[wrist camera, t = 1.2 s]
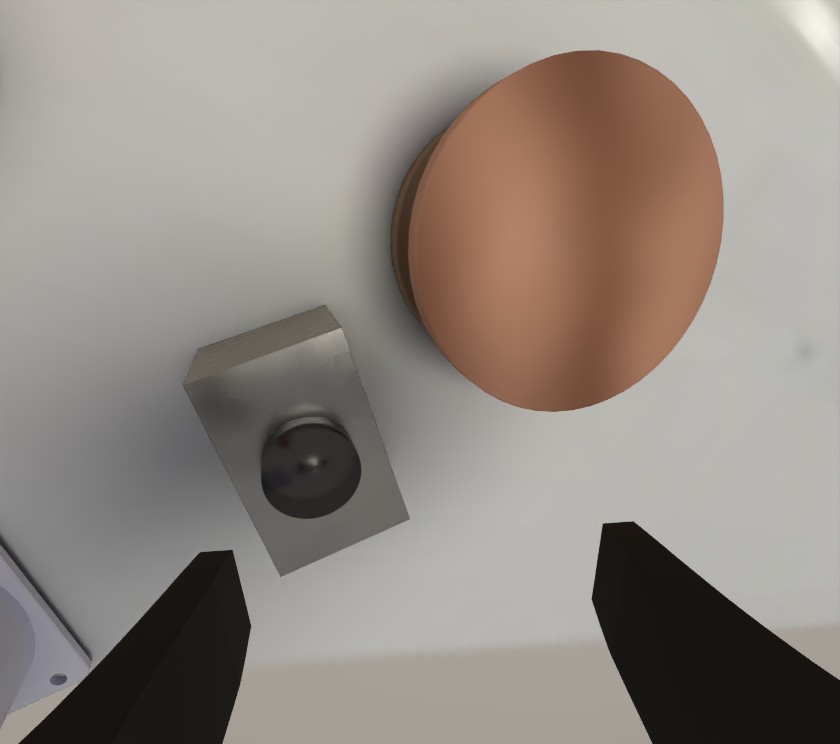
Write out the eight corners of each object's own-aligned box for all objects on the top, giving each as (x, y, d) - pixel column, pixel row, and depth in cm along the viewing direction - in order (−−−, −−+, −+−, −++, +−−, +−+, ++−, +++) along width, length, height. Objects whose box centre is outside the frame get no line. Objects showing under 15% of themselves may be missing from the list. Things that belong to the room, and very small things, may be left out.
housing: (276, 508, 20) (282, 598, 15) (198, 347, 17) (177, 397, 12) (382, 464, 20) (418, 536, 16) (323, 303, 18) (347, 335, 13)
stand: (421, 403, 20) (470, 459, 15) (336, 137, 16) (368, 108, 12) (631, 317, 22) (730, 345, 17) (599, 60, 18) (714, 9, 13)
